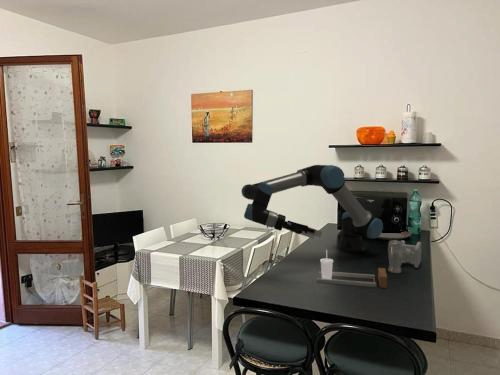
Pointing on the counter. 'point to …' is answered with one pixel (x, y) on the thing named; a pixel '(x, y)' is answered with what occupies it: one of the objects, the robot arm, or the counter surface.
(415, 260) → the cable organizer
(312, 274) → the counter surface
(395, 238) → the dinner plate
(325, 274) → the beverage cup
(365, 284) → the channel
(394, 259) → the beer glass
